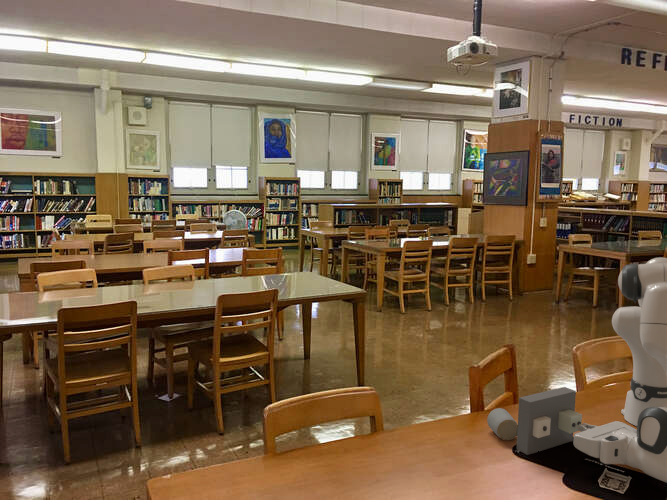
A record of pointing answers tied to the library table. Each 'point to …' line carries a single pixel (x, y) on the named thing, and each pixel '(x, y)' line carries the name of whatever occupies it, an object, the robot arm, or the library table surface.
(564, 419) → the two dot button
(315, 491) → the library table surface
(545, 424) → the one dot button
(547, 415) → the button panel
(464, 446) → the library table surface
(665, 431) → the robot arm
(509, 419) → the ceramic mug
